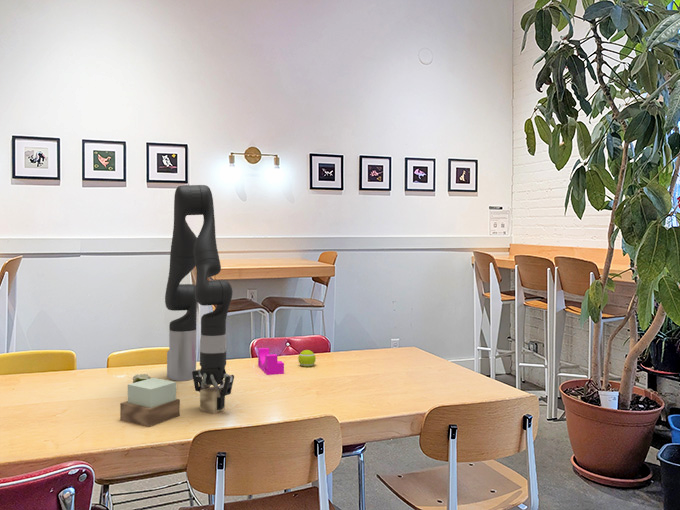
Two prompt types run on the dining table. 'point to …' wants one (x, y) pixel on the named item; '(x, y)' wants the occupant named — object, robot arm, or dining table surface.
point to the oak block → (209, 400)
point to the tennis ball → (306, 358)
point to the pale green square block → (151, 392)
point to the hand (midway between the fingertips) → (212, 407)
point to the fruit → (140, 377)
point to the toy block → (269, 362)
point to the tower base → (149, 413)
